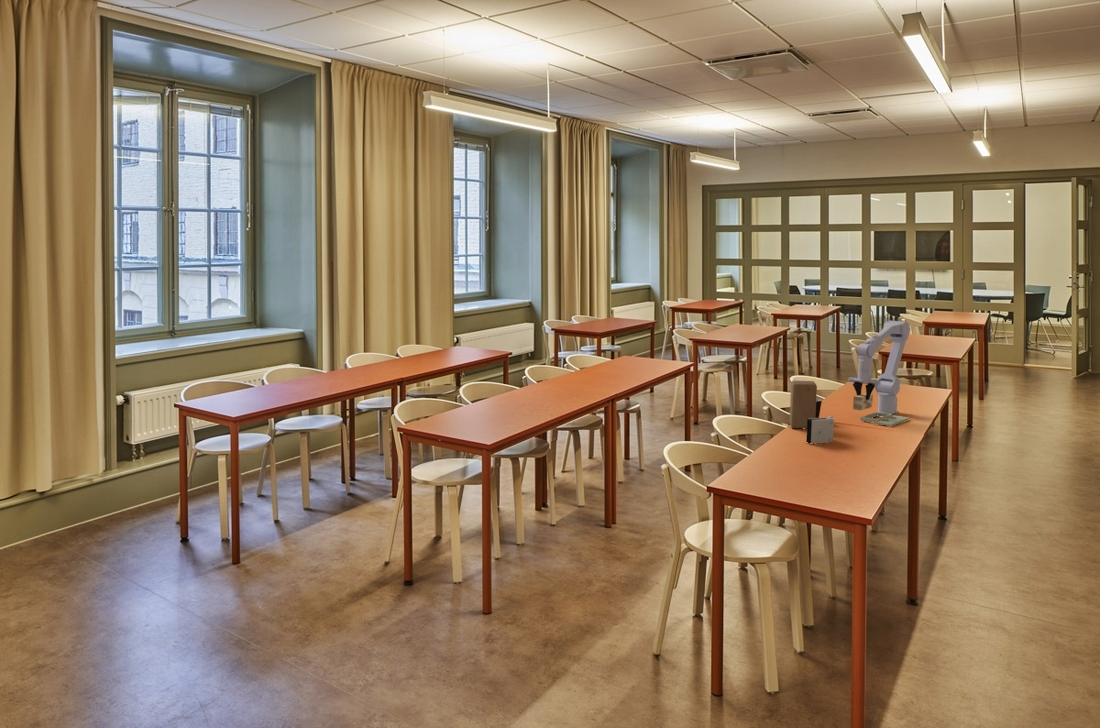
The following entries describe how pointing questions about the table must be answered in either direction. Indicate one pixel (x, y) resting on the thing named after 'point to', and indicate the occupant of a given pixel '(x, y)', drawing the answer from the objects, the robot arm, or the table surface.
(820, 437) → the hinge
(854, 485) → the table surface
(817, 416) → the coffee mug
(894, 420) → the sage cabinet frame
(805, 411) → the wooden block
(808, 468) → the table surface
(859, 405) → the birch door
